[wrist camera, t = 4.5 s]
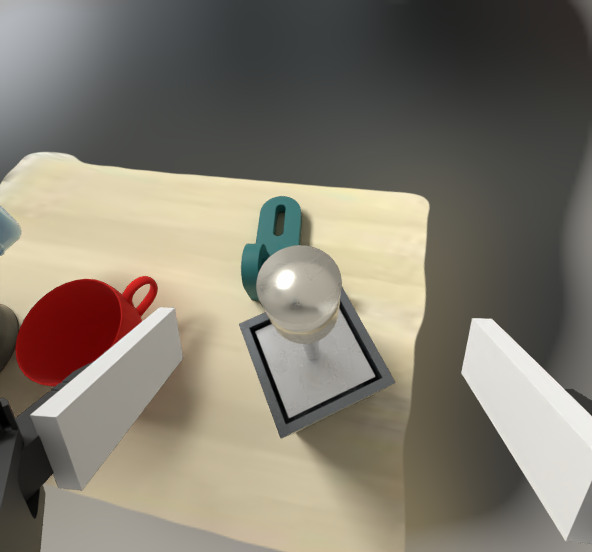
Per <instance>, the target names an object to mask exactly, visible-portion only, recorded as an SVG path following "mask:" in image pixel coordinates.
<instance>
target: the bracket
mask: <svg viewBox="0 0 592 552" xmlns="http://www.w3.org/2000/svg"><path fill="white" fill-rule="evenodd" d="M280 212H285V220H284V230H283V234H282V235H280V236H275V233H276V224H277V216H278V214H279V213H280ZM301 223H302V217H301V209H300V206H299V204H298V203H297V202H296V201H295V200H294V199H292V198H290V197H286V196H279V197H275V198H272V199H270V200H268V201H267V202H266V203H265V204H264V205H263V207H262V208H261V211H260V218H259V224H258V231H257V238H256V244H246V246H245V247H244V250H243V254H242V262H241V276H242V283H243V286H244V289H245V290H246V292H247V293H248V295H249V297H250V298H251V300H259V298H258V295H257V289H256V283H257V277H258V274H259V271H260V269H261V267H262V265H263V264H264V263H265V261H266V260H267V259H268V258H269V257H270V256H271V255H273V254H274V253H276V252H277V251H279V250H281V249H284V248H286V247H290V246H296V245H300V236H301Z"/></svg>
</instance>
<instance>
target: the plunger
mask: <svg viewBox="0 0 592 552" xmlns="http://www.w3.org/2000/svg"><path fill="white" fill-rule="evenodd" d="M341 287H342V279H341V274H340V271H339V268H338V266H337V265H336V263H335V262H334V260H333V259H332V258H331V257H330V256H329V255H328V254H326V253H325V252H323V251H322V250H320V249H317V248H315V247H311V246H305V245H296V246H290V247H286V248H284V249H281V250H279V251H277V252H276V253H274V254H273V255H271V256H270V257H269V258H268V259H267V260H266V261H265V263H264V264H263V265H262V267H261V269H260V271H259V274H258V277H257V283H256V289H257V295H258V298H259V300H260V302H261V304H262V306H263V308H264V310H265V312H266V313H267V315H268V317H269V319H270V321H271V322H272V324H271V325H269V326H266V327H264V328H262V329H260V330H258V331H255V332H256V334H257V337H258V339H259V342H260V344H261V347H262V350H263V352H264V355H265V357H266V360H267V363H268V365H269V368H270V370H271V373H272V376H273V378H274V381H275V383H276V386H277V389H278V391H279V394H280V396H281V399H282V401H283V404H284V407H285V409H286V412H287V414H288V417H289V418H291V417H293V416H295V415H297V414H299V413H301V412H304V411H306V410H308V409H310V408H312V407H314V406H316V405H318V404H320V403H322V402H324V401H326V400H328V399H330V398H333V397H335V396H337V395H339V394H341V393H343V392H345V391H347V390H349V389H351V388H353V387H355V386H357V385H359V384H362V383H364V382H366V381H368V380H370V379H372V378H374V377H375V375H374V373H373V371H372V369H371V367H370V365H369V364H368V362H367V360H366V358H365V356H364V354H363V352H362V350H361V348H360V347H359V345H358V343H357V341H356V339H355V337H354V335H353V333H352V332H351V330H350V328H349V326H348V324H347V322H346V320H345V318H344V317H343V315H342V313H341V311H340V309H339V304H340V295H341Z"/></svg>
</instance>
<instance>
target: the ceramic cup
mask: <svg viewBox="0 0 592 552" xmlns="http://www.w3.org/2000/svg"><path fill="white" fill-rule="evenodd" d="M145 284H150V290H149V292H148V294H147V296H146V297H145V298H144V300H143V301H142V302H141V304H140V305H139V306H138V307H137V308H135V307H134V305H133V303H132V298H133V295H134V293H135V292H136V291H137V290H138V289H139V288H140V287H141V286H143V285H145ZM157 290H158V287H157V284H156V282H155V281H154V280H153V279H152V278H151V277H148V276H142V277H139V278H137V279H135V280H134V281H132V282H131V283H130V284H129V285H128V286H127V288H126V289H125V291H124V292H123V294H121V293H119V292H118V291H117V290H116V289H114V288H113V287H111V286H109V285H108V284H106V283H104V282H102V281H98V280H95V279H80V280H74V281H71V282H68V283H65V284H63V285H61V286H59V287H56V288H55V289H53V290H52V291H50V292H49V293H47V294H46V295H45V296H44V297H42V298H41V299H40V300H39V301H38V302H37V303H36V304H35V305H34V307H33V308H32V309H31V310H30V311H29V313H28V314H27V316H26V317H25V319H24V321H23V323H22V325H21V327H20V329H19V332H18V336H17V339H16V348H15V350H16V359H17V362H18V365H19V368H20V369H21V371H22V372H23V373H24V375H25V376H27V377H28V378H29V379H30V380H32V381H34V382H36V383H39V384H41V385H46V386H56V385H58V384H59V383H62V381H63V380H64V379H65V378H66V377H68V376H69V375H70V374H71V373H73V372H74V371H76V370H77V369H79V368H81V367H83V366H85V365H87V364H89V363H93V362H94V361H96V360H97V359H98V358H99V357H100V356H102V355H103V354H104V353H105V352H106V351H108V350H109V349H110V348H111V347H112V346H114V345H115V344H116V343H117V342H118V341H120V340H121V339H122V338H123V337H124V336H126V335H127V334H128V333H129V332H130V331H132V330H133V329H134V328H135V327H136V326H138V325H139V324H140V323H141V322H142V319H141V316H142V315H143V313H144V312H145V311H146V310H147V309H148V307H149V306H150V305H151V303H152V302H153V301H154V299H155V297H156V294H157Z"/></svg>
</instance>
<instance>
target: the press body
mask: <svg viewBox="0 0 592 552" xmlns="http://www.w3.org/2000/svg"><path fill="white" fill-rule="evenodd" d="M339 309H340V311H341V313H342V315H343V317H344V318H345V320H346V322H347V324H348V326H349V328H350V330H351V332H352V333H353V335H354V337H355V339H356V341H357V343H358V345H359V347H360V348H361V350H362V352H363V354H364V356H365V358H366V360H367V362H368V364H369V365H370V367H371V369H372V371H373V373H374V375H375V377H374V378H372V379H370V380H368V381H366V382H364V383H362V384H359V385H357V386H355V387H353V388H351V389H349V390H347V391H345V392H343V393H341V394H339V395H337V396H335V397H333V398H330V399H328V400H326V401H324V402H322V403H320V404H318V405H316V406H314V407H312V408H310V409H308V410H306V411H304V412H301V413H299V414H297V415H295V416H293V417H291V418H289V417H288V414H287V412H286V409H285V407H284V404H283V401H282V399H281V396H280V394H279V391H278V389H277V386H276V383H275V381H274V378H273V376H272V373H271V370H270V368H269V365H268V363H267V360H266V357H265V355H264V352H263V350H262V347H261V344H260V342H259V339H258V337H257V334H256V332H255V331H258V330H260V329H262V328H264V327H266V326H269V325H271V324H272V322H271V321H270V319H269V317H268V315H267V313H266V312H265V313H263V314H260V315H258V316H256V317H254V318H251V319H249V320H247V321H245V322H242V323H240V324H239V326H240V329H241V331H242V334H243V337H244V340H245V342H246V345H247V348H248V351H249V353H250V356H251V359H252V361H253V364H254V367H255V370H256V372H257V375H258V378H259V381H260V383H261V386H262V389H263V392H264V394H265V397H266V400H267V403H268V405H269V408H270V411H271V414H272V416H273V419H274V422H275V425H276V427H277V430H278V433H279V436H280V438H284V437H286V436H289V435H291V434H294V433H296V432H298V431H300V430H302V429H304V428H306V427H308V426H310V425H312V424H315V423H317V422H319V421H321V420H323V419H325V418H327V417H329V416H331V415H333V414H335V413H337V412H339V411H341V410H343V409H345V408H347V407H349V406H351V405H353V404H356V403H358V402H360V401H362V400H364V399H366V398H368V397H370V396H372V395H374V394H376V393H378V392H379V391H381V390H383V389H385V388H387V387H388V386H390V385H392V384H394V383H395V381H394V379H393V377H392V376H391V374H390V372H389V370H388V368H387V367H386V365H385V363H384V361H383V359H382V358H381V356H380V354H379V352H378V350H377V349H376V347H375V345H374V343H373V341H372V340H371V338H370V336H369V334H368V332H367V331H366V329H365V327H364V325H363V323H362V322H361V320H360V318H359V316H358V314H357V313H356V311H355V309H354V307H353V305H352V304H351V302H350V300H349V298H348V296H347V295H346V293H345V291H344V289H343V287H341V295H340V304H339Z"/></svg>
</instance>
